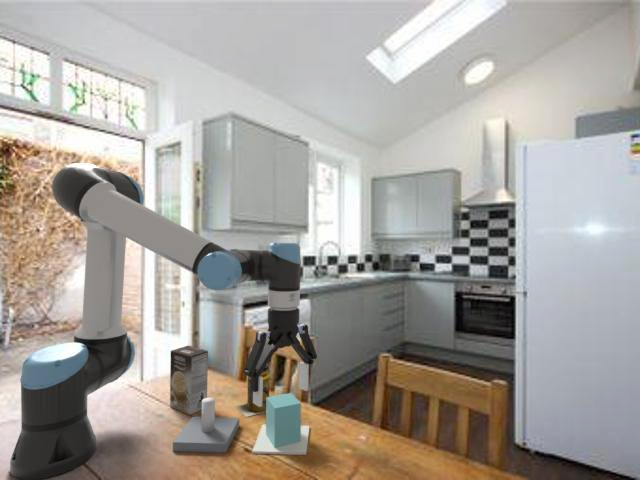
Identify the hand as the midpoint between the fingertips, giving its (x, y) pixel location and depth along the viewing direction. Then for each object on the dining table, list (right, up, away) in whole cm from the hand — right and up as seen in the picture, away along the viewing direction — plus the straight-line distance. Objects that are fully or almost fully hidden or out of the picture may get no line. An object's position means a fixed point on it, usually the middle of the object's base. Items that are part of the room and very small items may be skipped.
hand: (281, 396), depth 89 cm
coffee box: (-28, -10, +17) cm, 34 cm away
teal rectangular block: (0, -10, 0) cm, 10 cm away
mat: (0, -10, 0) cm, 10 cm away
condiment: (-9, -10, +16) cm, 21 cm away
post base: (-18, -10, +1) cm, 20 cm away
